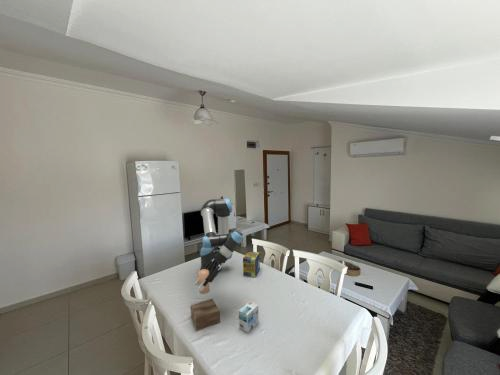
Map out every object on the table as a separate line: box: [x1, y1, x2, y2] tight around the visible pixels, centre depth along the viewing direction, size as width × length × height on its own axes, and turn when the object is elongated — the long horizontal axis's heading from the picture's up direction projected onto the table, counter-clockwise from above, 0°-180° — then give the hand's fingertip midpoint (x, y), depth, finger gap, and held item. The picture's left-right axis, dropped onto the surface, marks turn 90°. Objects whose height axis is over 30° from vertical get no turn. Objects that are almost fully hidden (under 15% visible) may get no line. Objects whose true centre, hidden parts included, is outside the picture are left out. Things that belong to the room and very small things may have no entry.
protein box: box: [242, 250, 261, 279], centre depth 185 cm, size 10×15×16 cm
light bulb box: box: [238, 301, 260, 334], centre depth 125 cm, size 11×7×11 cm, turn 143°
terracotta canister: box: [197, 269, 211, 295], centre depth 129 cm, size 6×6×12 cm
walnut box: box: [190, 298, 221, 331], centre depth 131 cm, size 14×14×7 cm
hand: (198, 287), depth 127 cm, fingers closed on terracotta canister, 6 cm apart
